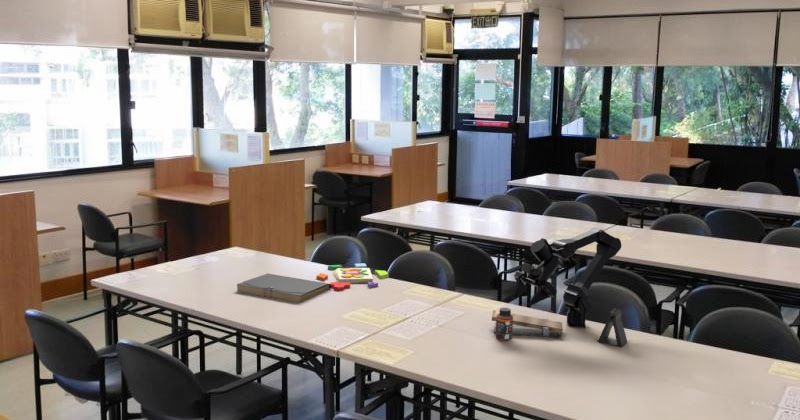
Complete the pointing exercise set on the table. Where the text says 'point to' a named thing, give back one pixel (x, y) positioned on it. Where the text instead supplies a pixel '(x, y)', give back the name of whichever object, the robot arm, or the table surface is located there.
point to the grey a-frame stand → (615, 320)
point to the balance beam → (533, 322)
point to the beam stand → (532, 331)
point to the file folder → (283, 287)
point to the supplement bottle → (504, 325)
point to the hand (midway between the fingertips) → (521, 301)
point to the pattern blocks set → (351, 276)
